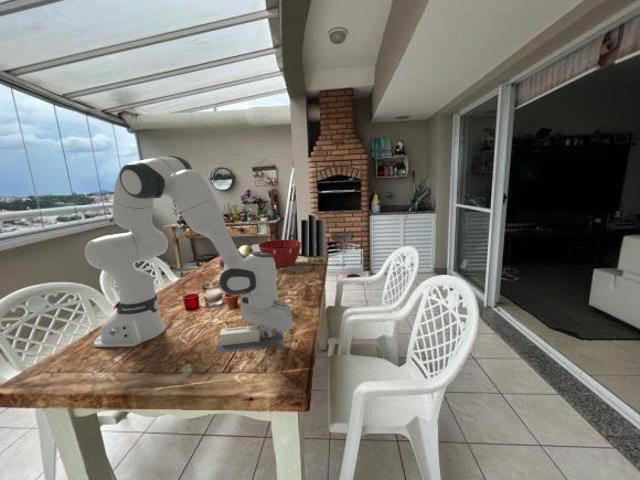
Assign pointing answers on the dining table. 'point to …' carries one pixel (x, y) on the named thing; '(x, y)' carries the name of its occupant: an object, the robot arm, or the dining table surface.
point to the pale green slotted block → (240, 335)
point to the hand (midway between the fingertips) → (267, 335)
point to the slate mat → (254, 343)
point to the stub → (272, 333)
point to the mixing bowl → (282, 251)
